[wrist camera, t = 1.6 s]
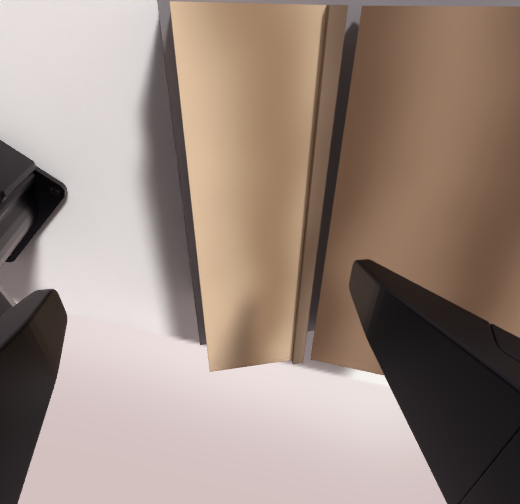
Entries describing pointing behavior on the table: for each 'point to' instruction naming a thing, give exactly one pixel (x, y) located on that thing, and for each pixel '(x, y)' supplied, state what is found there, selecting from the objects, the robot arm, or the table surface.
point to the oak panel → (257, 165)
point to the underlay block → (349, 46)
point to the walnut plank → (428, 168)
